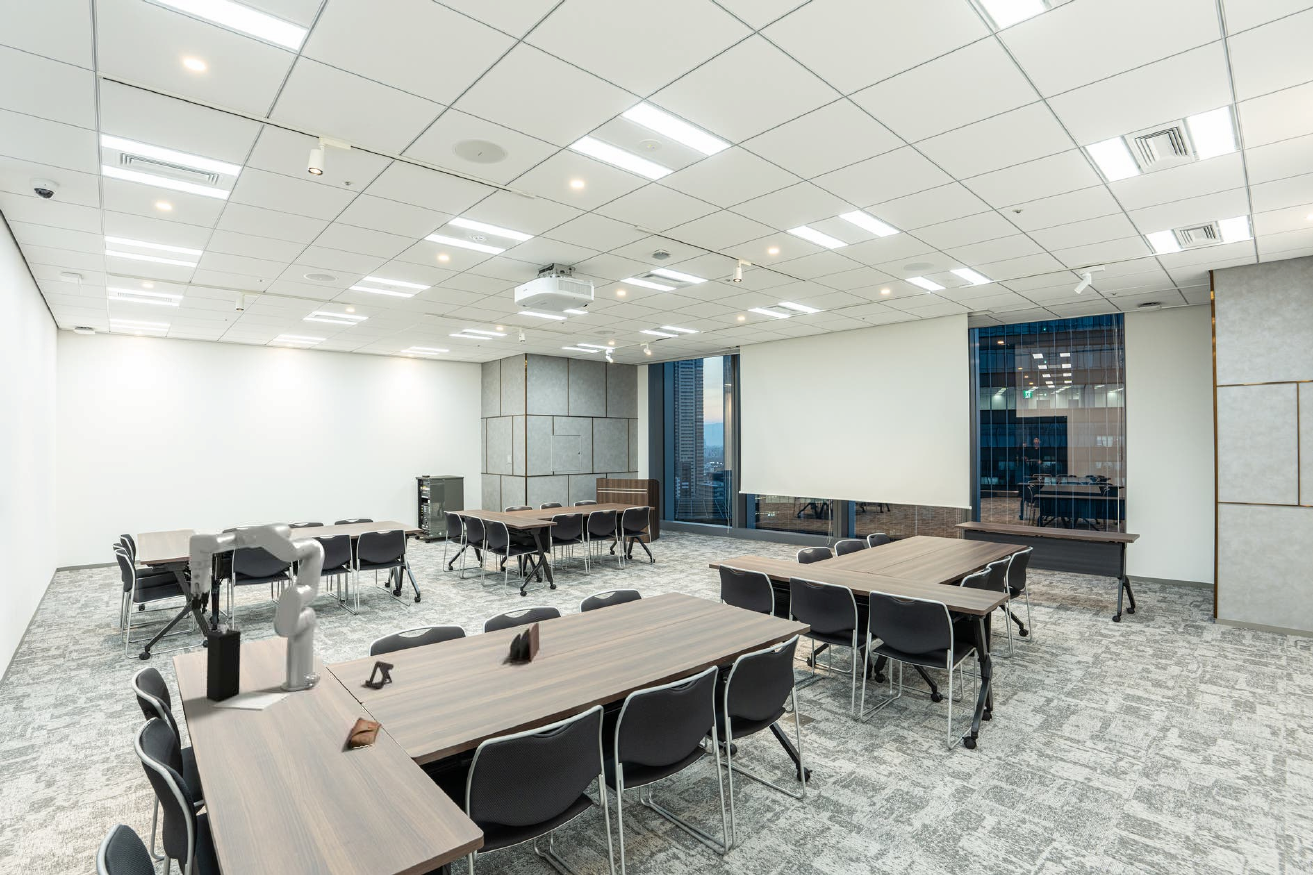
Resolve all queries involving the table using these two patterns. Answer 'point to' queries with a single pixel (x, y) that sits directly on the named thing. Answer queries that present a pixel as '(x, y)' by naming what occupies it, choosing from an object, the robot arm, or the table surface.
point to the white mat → (252, 700)
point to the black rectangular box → (223, 664)
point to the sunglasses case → (363, 733)
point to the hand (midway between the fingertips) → (200, 606)
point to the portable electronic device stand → (384, 671)
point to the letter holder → (525, 645)
